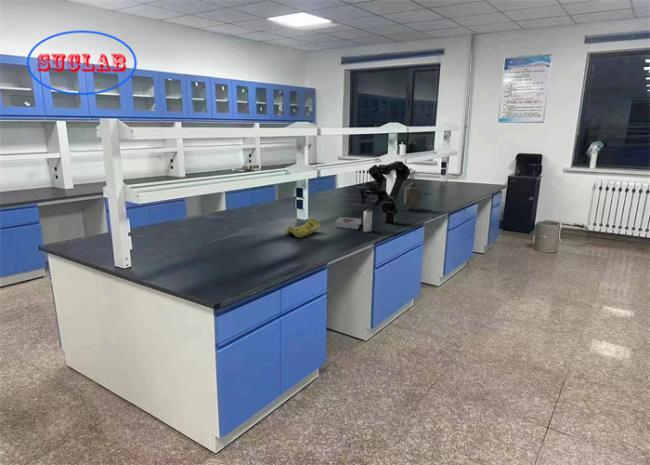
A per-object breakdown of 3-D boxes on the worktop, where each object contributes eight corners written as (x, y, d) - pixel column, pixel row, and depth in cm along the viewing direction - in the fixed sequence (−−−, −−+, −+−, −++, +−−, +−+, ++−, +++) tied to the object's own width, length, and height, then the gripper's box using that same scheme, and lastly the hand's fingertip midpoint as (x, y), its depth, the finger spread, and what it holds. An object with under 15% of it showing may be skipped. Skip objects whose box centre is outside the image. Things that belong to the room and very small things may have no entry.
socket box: (339, 222, 273) (339, 215, 272) (361, 224, 270) (361, 217, 269) (334, 227, 259) (335, 220, 258) (357, 229, 256) (358, 222, 255)
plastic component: (300, 234, 232) (287, 224, 236) (296, 245, 236) (284, 234, 240) (323, 225, 247) (311, 216, 251) (319, 235, 251) (307, 226, 255)
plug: (363, 229, 256) (364, 208, 253) (371, 230, 255) (372, 209, 252) (362, 231, 252) (363, 210, 248) (370, 232, 250) (371, 211, 247)
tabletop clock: (418, 211, 312) (420, 177, 306) (405, 211, 312) (408, 177, 306) (414, 208, 326) (417, 175, 320) (402, 207, 326) (405, 175, 320)
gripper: (359, 174, 257) (349, 197, 253) (386, 177, 245) (376, 201, 241) (366, 184, 265) (357, 206, 261) (393, 187, 254) (383, 210, 250)
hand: (368, 205), depth 253 cm, fingers open, 9 cm apart
